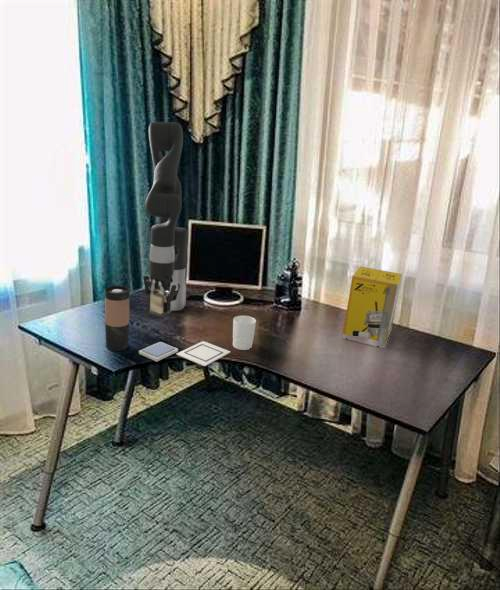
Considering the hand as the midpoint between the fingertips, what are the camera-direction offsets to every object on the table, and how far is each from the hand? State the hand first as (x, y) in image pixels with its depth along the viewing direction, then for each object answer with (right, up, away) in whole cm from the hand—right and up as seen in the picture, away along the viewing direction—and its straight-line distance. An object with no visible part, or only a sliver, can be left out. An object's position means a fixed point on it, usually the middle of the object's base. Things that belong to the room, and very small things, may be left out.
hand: (160, 310), depth 156 cm
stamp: (0, -1, 0) cm, 1 cm away
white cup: (+26, -13, +16) cm, 33 cm away
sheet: (+13, -15, +7) cm, 21 cm away
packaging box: (+74, -11, +34) cm, 82 cm away
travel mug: (-16, -12, +7) cm, 21 cm away
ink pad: (-1, -14, +5) cm, 15 cm away
